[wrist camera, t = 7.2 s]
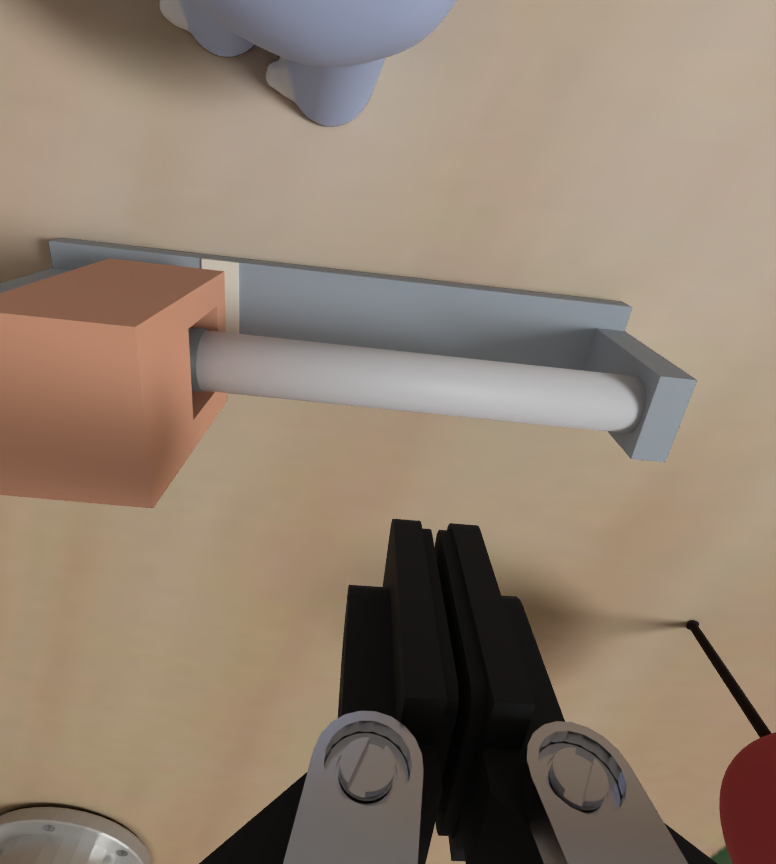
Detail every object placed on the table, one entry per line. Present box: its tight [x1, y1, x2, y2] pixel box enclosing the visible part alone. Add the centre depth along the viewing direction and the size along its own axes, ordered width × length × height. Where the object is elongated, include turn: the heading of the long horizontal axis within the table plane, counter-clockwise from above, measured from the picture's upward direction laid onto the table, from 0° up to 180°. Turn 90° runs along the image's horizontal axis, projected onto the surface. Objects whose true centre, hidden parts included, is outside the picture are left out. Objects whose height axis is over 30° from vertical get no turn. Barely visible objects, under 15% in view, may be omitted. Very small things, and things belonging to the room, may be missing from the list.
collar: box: [0, 258, 227, 508], centre depth 17 cm, size 5×4×8 cm
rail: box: [0, 238, 697, 462], centre depth 20 cm, size 5×23×7 cm, turn 84°
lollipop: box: [687, 621, 776, 864], centre depth 24 cm, size 8×8×15 cm
